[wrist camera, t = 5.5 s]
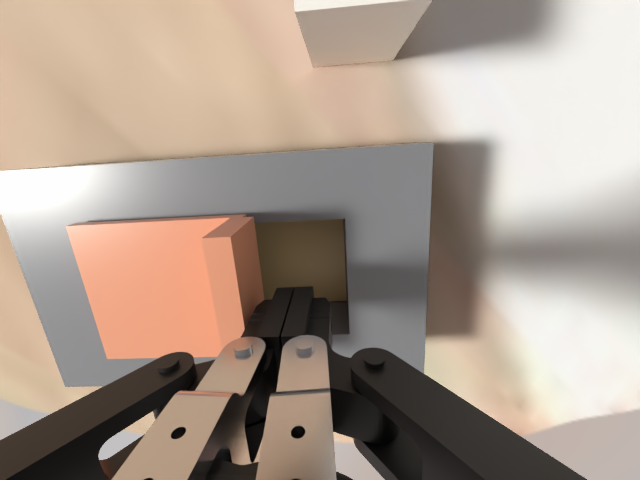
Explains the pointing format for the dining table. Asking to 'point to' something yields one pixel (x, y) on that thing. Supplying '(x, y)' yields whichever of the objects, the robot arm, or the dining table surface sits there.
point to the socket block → (271, 232)
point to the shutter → (169, 282)
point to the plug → (356, 29)
